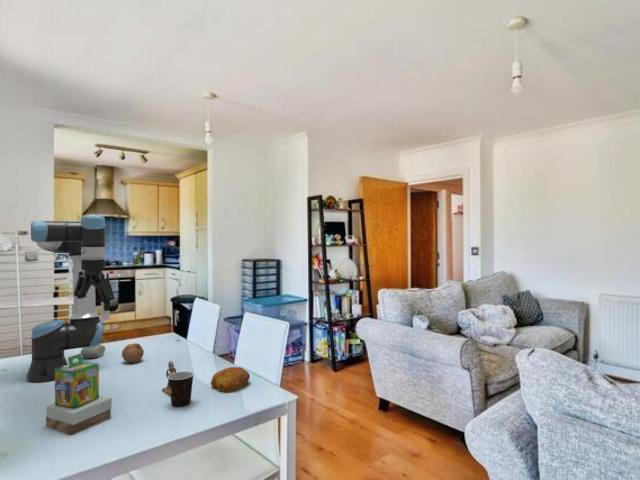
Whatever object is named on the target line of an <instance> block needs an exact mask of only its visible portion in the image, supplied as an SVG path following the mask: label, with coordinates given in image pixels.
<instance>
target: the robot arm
mask: <svg viewBox="0 0 640 480" xmlns="http://www.w3.org/2000/svg"><path fill="white" fill-rule="evenodd" d="M80 219H81V220H80V221H78V220H77V221H75V220H74V221H71V220H70V221H65V220H64V221H63V220H62V221H61V220H60V221H57V220H56V221H55V220H33V221H32V222H31V223H30V240H31V241H32V242H33V243H36V245H37V246H38V248H40V249H41V250H44V251H46V252H50V253H56V254H68V258H69V259H70V260H72V275H73V276H72V279H73V280H72V284H73V285H72V286H73V289H72V291H73V293H72V294H73V314H72V316H70V317H69V322H65V320H64V319H58V320H57V319H54V320H50V321H44V322H41V323H39V324H36V325H34V327H32V329H31V337H30V339H31V361H30V365H29V368H28V370H27V374H26V381H27V382H29V383H44V382H51V381H55V369H56V368H59V367H62V366H65V365H68V363H67V360H66V357H65V351H67V350H75V349H82V348H83V347H91V346H96V345H98V344H101V342H102V339H103V334H104V321H108V320H111V316H110V315H111V313H110V312H111V301H113V300H115V294H114V292H113V288H112V285H111V281H110V275H109V272H103V270H105V269H106V260H105V258H106V219H105V217H104V216H102V215H83V216H81V217H80ZM96 290H97V292H98V295H99V296H100V298H101V301H100V314H98V313H97V312H96V309H97V308H96Z"/></svg>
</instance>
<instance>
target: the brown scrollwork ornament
mask: <svg viewBox="0 0 640 480" xmlns="http://www.w3.org/2000/svg"><path fill="white" fill-rule="evenodd" d="M167 367H168V369H167V370H166V373H165V375H166V378H167V379H168V376H169V375H171V374H173V373H177V368H176V367H175V366H174V362H173V361H172V360H171V361H168V366H167ZM161 392H162V393H164V394H165V395H167V396H168V397H170V389H169V382H167V384H166V387H163V388H162V389H161Z"/></svg>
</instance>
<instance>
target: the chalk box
mask: <svg viewBox="0 0 640 480" xmlns="http://www.w3.org/2000/svg"><path fill="white" fill-rule="evenodd" d="M75 359H78V361H76V362H74V360H75ZM68 363H69V364H68ZM68 363H67V364H68V365H65V366H62V367H59V368H56V369H55V380H54V400H55V401H54V403H55V405H61V406H68V407H74V408H76V407H78V406H80V405H83V404H85V403H87V402H90V401H92V400H95V399H97V398H99V395H100V390H99V389H100V385H99V384H100V379H99V378H100V377H99V376H100V372H99V371H100V370H99V369H100V368H99V366H100V365H99V363H95V362H91V361H90V362H89V361H83V356H82V355H81V353H78V354H75V355H71V356H69V357H68Z"/></svg>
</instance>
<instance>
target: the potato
mask: <svg viewBox="0 0 640 480" xmlns="http://www.w3.org/2000/svg"><path fill="white" fill-rule="evenodd" d="M250 376H251V375H250V373H249V371H247V370H246V369H244V368H242V367H239V366H231V367H227V368H226V367H225V368H224V369H222V370H219V371H218V372H215V373H214V375H212V379H211V380H210V381H211V382H210V385H211V386H210V387H211V388H212V389H213V390H216V391H219V392H224V393H231V392H234V391H237V390H238V389H240V388H242V387H243V386H245V385H246V384H248V382H249V379H250Z"/></svg>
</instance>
